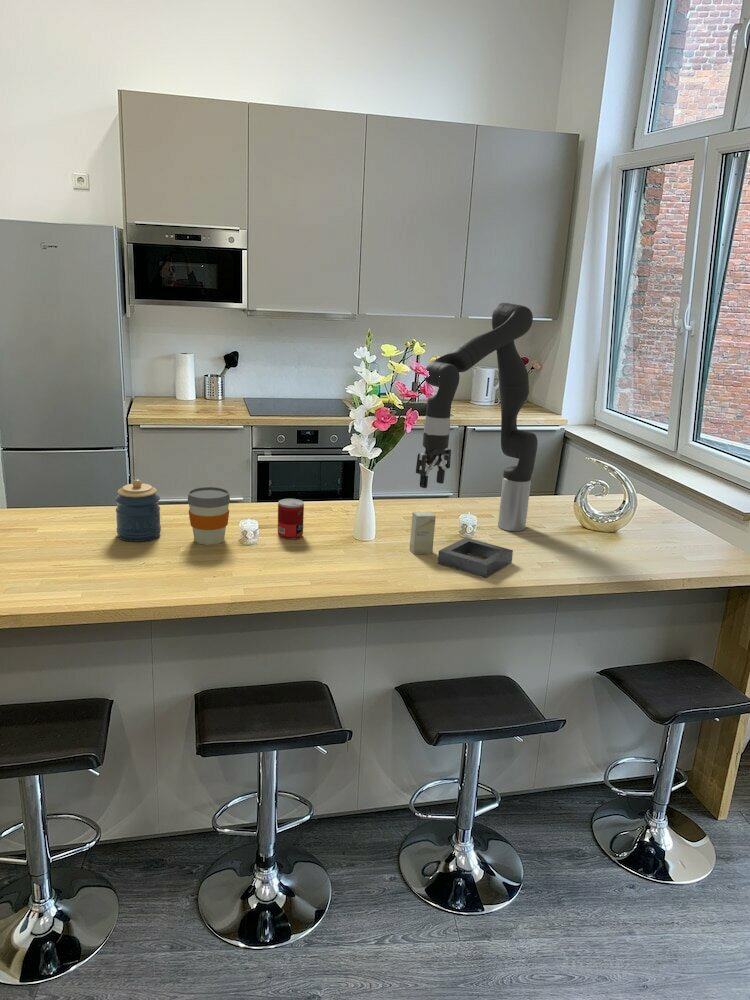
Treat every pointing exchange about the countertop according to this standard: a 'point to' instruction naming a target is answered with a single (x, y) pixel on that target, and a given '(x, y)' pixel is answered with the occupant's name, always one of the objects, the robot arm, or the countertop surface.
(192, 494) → the reusable coffee cup
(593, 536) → the countertop surface
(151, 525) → the canister
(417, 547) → the skincare box
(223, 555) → the countertop surface
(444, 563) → the dark grey square frame
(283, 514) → the canned food
